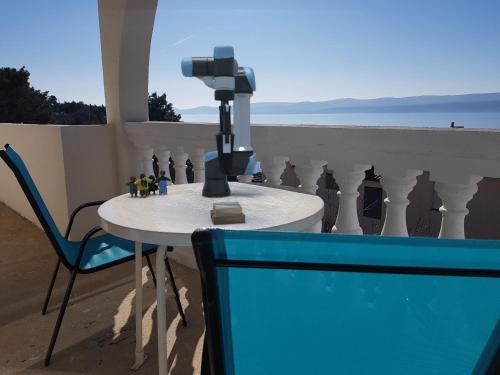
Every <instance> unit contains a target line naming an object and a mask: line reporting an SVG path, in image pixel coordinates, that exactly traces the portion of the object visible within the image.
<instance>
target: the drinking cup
mask: <svg viewBox="0 0 500 375" xmlns="http://www.w3.org/2000/svg"><path fill="white" fill-rule="evenodd" d="M222 133H223V131H221V132H217V133H215V134H214V136H215V139H216V140H215V141H216V151H217V152H218V161H219V170H221V171H230V170H232V163H233V149H234V136H235V134H233V132H232V131H231V134H230V146H231V153H223V135H222Z"/></svg>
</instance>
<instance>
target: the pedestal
mask: <svg viewBox="0 0 500 375" xmlns="http://www.w3.org/2000/svg"><path fill="white" fill-rule="evenodd" d="M209 211H210V219H211V222H212V224H213V226H220V225H221V226H222V225H234V224H235V225H237V224H238V225H239V224H246V215H245V213H244V212H243V207H242V205H241V204H240V203H239V202H238V201H221V202H213V203H212V209H210V210H209Z"/></svg>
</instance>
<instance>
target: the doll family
mask: <svg viewBox="0 0 500 375" xmlns="http://www.w3.org/2000/svg"><path fill="white" fill-rule="evenodd" d="M166 174H167V171H166V170H164V169H162V170H160V171H159V175H160V176H159V177H157V178H156V177H155V175H152V174H150V175H149V176H148V178H147V177H146V174H145V173H140V174H139V179H137V176H135V175H134V176H133V175H132V176H130V177H129V181H128V182H125V183H124V184H125V186H126V187H127V186H128V187H129V194H130V199H135V198H140V199H144V198H145V199H146V198H149V196H152V195H153V196H156V195H157V194H156V192H157V191H158V196H168V188H167V186H168V184H167V182H171V183H172V182H173V180H172V179H171V178H170V177H168V176H165V175H166ZM136 179H137V180H136ZM137 186H138V187H137ZM138 191H139V192H138ZM151 193H152V194H151ZM138 194H139V195H138Z"/></svg>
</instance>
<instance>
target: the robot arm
mask: <svg viewBox="0 0 500 375" xmlns="http://www.w3.org/2000/svg"><path fill="white" fill-rule="evenodd" d="M180 69H181V73H182V76H183V77H185V78H196V79H199V80H200V81H202V82H203V84H204V85H205V86H206V87H208V88H210V89H213V91H214V94H213V95H214V96H213V97H214V100H215V101H216V102H220V105H219V106H218V111H219V113H218V114H219V132H221V131H223V133H222V135H223V153H231V146H230V134H231V132H232V129H233V132H232V133H233V134H235V136H234V149H233V163H232V170H230V171H221V170H219V161H218V152H217V150H214V151H208V152H205V154H204V160H203V162H204V183H203V186H202V191H201V196H202V197H205V198H225V197H230V196H231V194H232V191H231V187H230V184H229V182H228V176H243V177H245V176H252V175H253V174H254V172H255V168H256V163H257V153H256V152H254V148H252V146H251V98H252V97H253V96H254V92H255V91H256V90H257V82H256V76H255V71H254V68H252V67H250V66H239V63H238V61H237V59H235V48H234V47H233V45H230V44H228V45H227V44H220V45H219V44H218V45H215V46H214V47H213V55H212V56H187V57H183V58H182V59H181V62H180ZM230 102H232V107H231V105H230ZM232 111H233V112H232ZM231 112H232V113H231ZM232 114H233V118H232ZM232 122H233V126H232ZM232 127H233V128H232ZM219 132H218V133H219Z"/></svg>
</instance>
